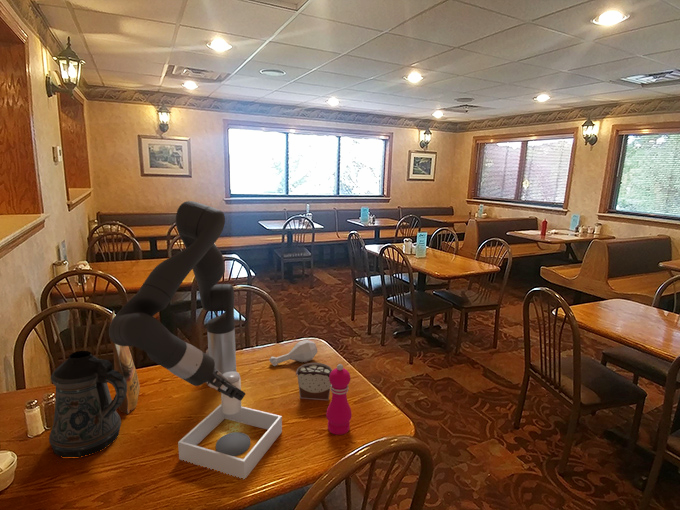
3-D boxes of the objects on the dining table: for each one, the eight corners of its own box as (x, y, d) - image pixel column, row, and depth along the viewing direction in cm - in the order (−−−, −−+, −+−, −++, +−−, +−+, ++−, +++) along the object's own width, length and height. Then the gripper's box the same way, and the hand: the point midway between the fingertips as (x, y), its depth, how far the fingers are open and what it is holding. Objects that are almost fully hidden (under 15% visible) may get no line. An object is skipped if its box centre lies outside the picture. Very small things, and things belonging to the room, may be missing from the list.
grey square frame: (179, 459, 104) (178, 442, 103) (224, 416, 122) (223, 401, 121) (244, 479, 98) (244, 461, 97) (281, 431, 116) (281, 416, 115)
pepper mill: (354, 423, 120) (356, 360, 116) (346, 438, 113) (348, 372, 109) (331, 418, 122) (332, 356, 118) (322, 432, 116) (323, 367, 111)
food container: (335, 390, 137) (336, 363, 135) (333, 400, 131) (333, 372, 129) (299, 387, 138) (299, 360, 136) (295, 397, 132) (295, 369, 130)
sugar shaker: (217, 412, 106) (216, 378, 104) (229, 401, 111) (227, 369, 108) (234, 416, 104) (233, 382, 102) (245, 405, 109) (244, 373, 107)
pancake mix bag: (110, 419, 119) (100, 330, 113) (119, 386, 137) (111, 307, 131) (136, 415, 122) (127, 327, 116) (142, 383, 139) (134, 305, 133)
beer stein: (58, 428, 115) (46, 345, 110) (135, 413, 123) (127, 335, 117) (43, 467, 100) (28, 374, 95) (131, 447, 108) (122, 360, 103)
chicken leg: (268, 361, 158) (266, 347, 153) (312, 346, 164) (311, 332, 159) (274, 378, 152) (272, 364, 147) (319, 362, 158) (319, 348, 153)
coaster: (208, 451, 107) (208, 449, 107) (228, 431, 115) (228, 429, 115) (238, 460, 104) (238, 458, 104) (256, 438, 113) (256, 436, 112)
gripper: (212, 361, 93) (260, 391, 104) (189, 340, 104) (234, 369, 114) (190, 389, 91) (241, 417, 101) (168, 365, 102) (217, 393, 112)
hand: (237, 392), depth 108 cm, fingers closed on sugar shaker, 5 cm apart
